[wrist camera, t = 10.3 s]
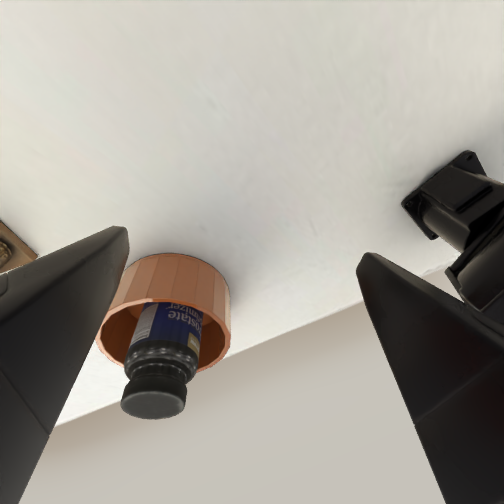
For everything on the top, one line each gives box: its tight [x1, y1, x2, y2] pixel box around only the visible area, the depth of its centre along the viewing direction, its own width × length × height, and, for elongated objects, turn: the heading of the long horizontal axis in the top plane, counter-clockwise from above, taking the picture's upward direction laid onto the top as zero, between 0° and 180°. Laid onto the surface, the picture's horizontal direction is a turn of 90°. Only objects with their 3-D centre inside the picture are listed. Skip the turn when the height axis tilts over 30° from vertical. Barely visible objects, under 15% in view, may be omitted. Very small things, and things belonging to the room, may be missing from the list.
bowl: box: [95, 253, 231, 373], centre depth 26 cm, size 12×12×6 cm
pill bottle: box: [121, 302, 203, 419], centre depth 23 cm, size 6×6×11 cm
